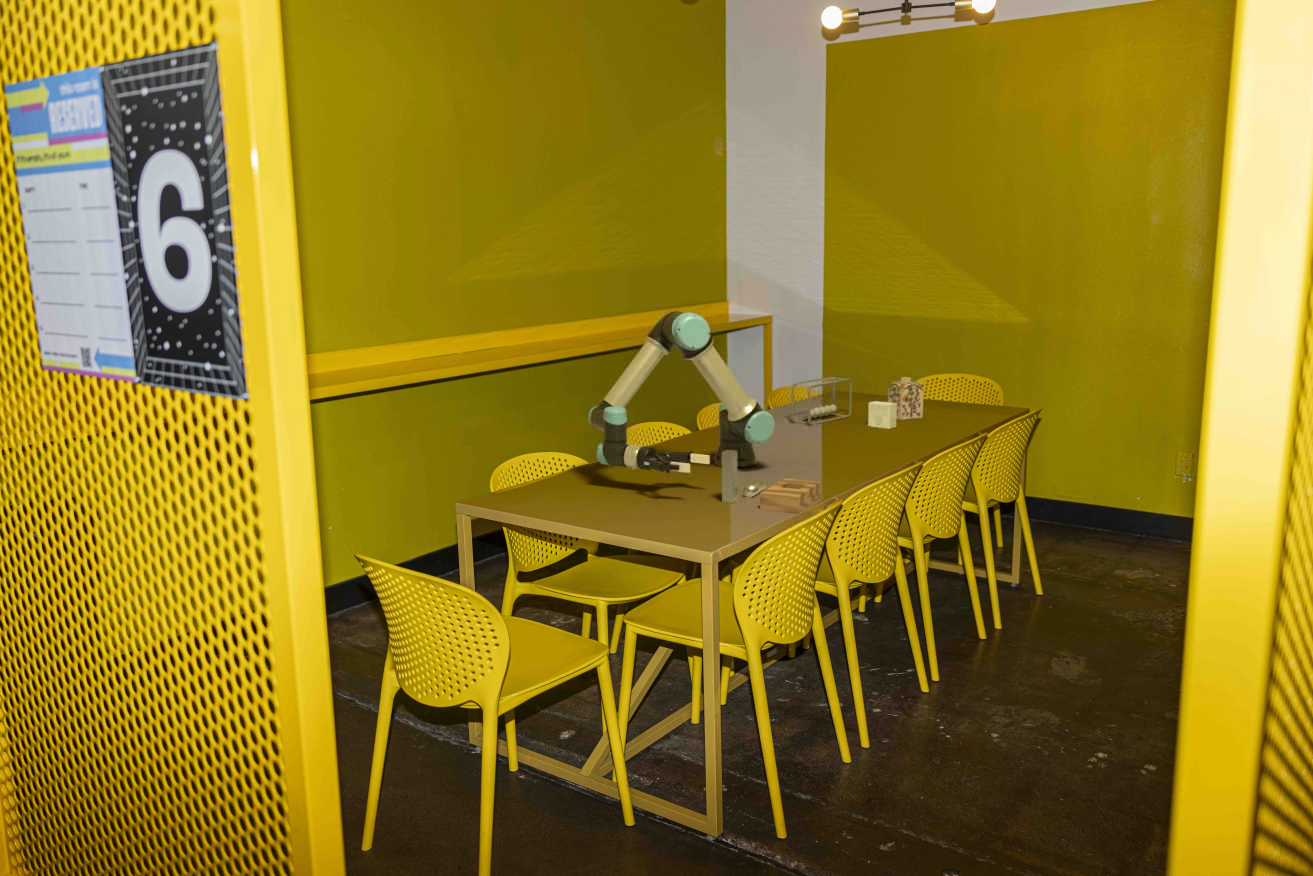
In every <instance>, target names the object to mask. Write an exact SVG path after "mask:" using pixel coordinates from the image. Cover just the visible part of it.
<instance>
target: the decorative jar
mask: <svg viewBox="0 0 1313 876" xmlns="http://www.w3.org/2000/svg"><path fill="white" fill-rule="evenodd" d="M924 391H925V389H924V387H923V386H922V385H921V383H920V382H918V381H916V380H912V377H910V376H908V377H907V376H901V377H900V380H895V381H893V382H892V383H891V384H890V385H889V386H888V387H887V402H890V403H897V420H899V421H906V420H919V419H920V420H921V419H923V418H924V393H925V392H924Z"/></svg>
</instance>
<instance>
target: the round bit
mask: <svg viewBox="0 0 1313 876" xmlns="http://www.w3.org/2000/svg"><path fill="white" fill-rule="evenodd" d="M766 489H767V484H766V482H765V481H764V480H763V479H758V480H756V481H754V482H752V483H751V484H749V485H747V486H745V487H744V488H743V491H742V492H743V495H744V497H745V496H749V497H748V498H750V497H751V498H752V497H754V496H756V495H758V494H759V493H761V492H763V491H764V490H766Z"/></svg>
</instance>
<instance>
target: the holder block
mask: <svg viewBox="0 0 1313 876" xmlns="http://www.w3.org/2000/svg"><path fill="white" fill-rule="evenodd" d="M821 488H822V482H821V481H815V480H814V481H813V480H803V479H796V478H795V479H794V478H786V477H785V478H783V479H782V480H780V481H778V482H777V483H775V484H772V485H771V486H770V487H768V488H765V489H764V490H763V491H761V492H759V493H760V494H759V501H760V502H759V503H760V506H759V509H760V510H765V509H766V511H775V512H783V513H791V514H799V513H800V512H802V511H804V510H805V509H806V508H808V507H809V506H810V505H812V504H813V503H815V502H817V501H818V500H819V499H821V498H822V497H821V496H822V489H821Z"/></svg>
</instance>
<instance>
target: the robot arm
mask: <svg viewBox="0 0 1313 876" xmlns="http://www.w3.org/2000/svg"><path fill="white" fill-rule="evenodd" d="M710 328H711V327H710V325H709V324H708V322H707V320H705V318H704V317H702V316H701V315H699V314H697V313H695V312H694V313H693V312H682V311H679V310H678V311H677V310H674V311H669V312H668V313H666V314H665V315H663V316H662V317H661V318H660V319H659V320H658V321H657V322H656V323H655V324H654V325H653V327H652V329H650V331H649V332H648V333H647V334H646V336H645V343H644V344H643V346H642V347H641V348H640V350H639V351H638V352H637V354H636V355H635V356H634V357H633V359H632V360H631V362H630V363H629V364H628V366H627V367H626V368H625V370H624V371H623V373H622V374H621V375H620V376H619V378H618V379H617V381H615V383H614V384H613V386H611V388H610V390H609V391H608V393H607V394H606V395H605V396H604V398H603V399H602V401H601V402H600V403H599V404H598V405H596V406H593V407H591V408H590V410H589V412H588V415H587V419H588V422H589V424H590V425H591V426H592V427H594V428H595V429H597V430H599V431H601V432H603V437H604V439H603V441H602V442H600V443H599V444H598V446H597V451H596V458H597V461H598V462H599V463H600V464H602V465H606V466H610V467H621V468H629V469H630V468H631V469H632V470H637V469H639V470H647V471H651V470H652V469H653V470H655V471H659V472H663V473H666V474H670V473H671V472H677V473H689V474H690V473H691V464H690V463H696V464H703V465H704V464H705V465H710V463H711V462H710V461H711V460H710V459H711V458H710V455H708V454H701V453H700V454H699V453H694V451H693V450H689V451H662V452H658V453H657V451H656V449H655V448H654V447H652V446H645V445H644V446H643V445H637V444H628V443H627V442H628V441H627V440H628V437H627V436H628V435H627V434H628V432H627V431H628V430H627V429H628V426H627V424H628V417H627V416H628V415H627V409H626V408H625V407H627V405H628V404H629V402H630V401H631V400H632V399H633V396H635V394H636V393H637V391H638V390H639V389H640V387H641V386H642V385H643V383H644V382H645V381H646V380H647V378H648V377H649V375H650V374H651V372H652V371H653V370H654V368H656V366H657V365H658V363H659V362H660V361H661V359H662V358H663V357H664V356H666V355H669V354H670V353H671V351H672V350H673V349H674V348H677V350H678V351H679V352H680V354H681V355H682V357H683V358H684V359H685V360H688V361H691V362H692V363H693V365H694V366H695V367H696V368H697V370H698V371H699V373H700V374H701V376H702V377H703V379H704V380H705V381H706V382H707V384H708V385H709V387H710V389H712V391H713V393H714V394H715V395H716V397H717V398H718V400H719V401H720V402H721V403H720V404H719V406H718V423H719V425H718V430H719V431H718V433H719V435H718V438H719V443H718V447H717V449H716V453H715V455H714V465H715V466H718V467H721V468H722V452H723V451H725V450H735V451H737V467H744V468H748V467H747V466H750V467H753V466H752V465H754V466H755V464H756V465H757V455H756V452H755V449H754V446H753V444H755V445H761V444H762V445H763V443H766V442H768V441H769V440H770V439H771V437H772V436H773V435H774V433H775V428H776V423H775V419H774V417H773V415H772V414H770V413H769V412H768V411H767V410H764V409H763V408H762V406H761V405H760V404H759V402H758V401H757V399H756V398H754V397H753V398H752V397H749V396H748V393H746V391H745V390H744V388H743V387H742V385H741V384H740V383H739V381H738V379H737V378H736V377H735V375H734V374H733V372H732V371H731V370H730V368H729V367H728V365H727V364H726V363H725V361H724V360H723V358H722V357H721V356H720V354H719V352H718V351H717V350H716V348H715V347H714V345H713V343H714V338H713V336H712V334H711V329H710ZM686 462H690V463H686Z"/></svg>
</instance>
